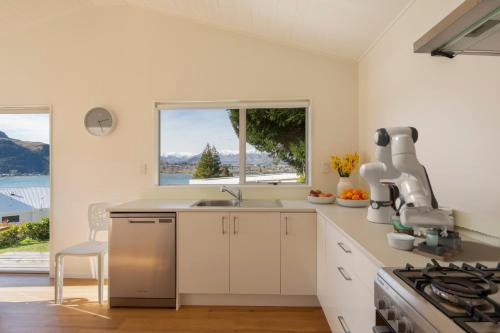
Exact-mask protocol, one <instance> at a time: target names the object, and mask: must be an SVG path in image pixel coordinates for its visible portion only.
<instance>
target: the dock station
mask: <svg viewBox="0 0 500 333" xmlns="http://www.w3.org/2000/svg"><path fill="white" fill-rule="evenodd" d="M436 231H438V247H437V248H436V247H432V246H428V245H426V240H423V241H421V242H418V243H417V247H416V248H414V249H413V248H412V254H415V255H418V256H421V257H425V258H429V259H433V260H436V261H440V262H444V261H447V260H448V259H450V258H452V257H454V256H456V255H458V254H460V253H461V252H464V251H465V249H464V246H462V236H460V235H459V234H460V232H459V231H454V230H453V231H450V230H447V231H446V232H447V237H442V235H441V234H440V233H442V231H443V230H441V229H436Z"/></svg>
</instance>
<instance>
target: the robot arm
mask: <svg viewBox="0 0 500 333" xmlns="http://www.w3.org/2000/svg"><path fill="white" fill-rule="evenodd" d="M418 140H419V132H418V130H417V128H416V127H413V126H391V127H382V128H377V129H376V130H375V132H374V135H373V141H374V144H375V145H376V148H375V152H374V157H375V160H377V161H378V162H368V163H362V164H361V166H360V168H359V172H358V173H359V175H360V177H361V178H363V179H364V181H366V182H367V184H368V185H369V190H370V200H369V206H368V209H367V216H366V217H365V219H366V220H367V221H369V222H372V223H376V224H390V225H393V219H392V216H393V215H394V216H397V212H398V213H399V217H400V220H401V223H402V225H403V226H404V227H412V228H413V230H414V232H415V233H416V234H417V235H418V237H423V236H424V232H423V230H421V228H422V229H423V228H424V229H432V228H441V230H443V231H442V233H440V234H441V235H442V237H447V232H446V231H447V229H450V228H451V227H452V226H453V225H454V226H455V221H454V222H453V220H452V219H451V217H452V216H450V214H449V213H448V212H447V211H446V210H444V209H441V208H439V203H438V200H437V198H436V196H435V194H434V191H433V187H432V184H431V181H430V178H429V173H428V172H427V169H426V167H425V165H423V164H422V163H420V161H419V159H418V158H417V157H418V156H417V151H416V147H415V144H416V143H417V142H418ZM403 174H407V175H409V176H411V177H413V178H415V179H406V180H403V182H401V184H400V194H399V195H398V196H397V197H396V198H395V200H394V206H395V209H396V210H395V209H394V208H393V207H392V206H391V204H393V200H390V189H389V187H388V186H386V185H385V184H383V183H381V182H380V181H381V180H389V181H390V180H396V179H399V178H400V177H402V175H403ZM396 211H397V212H396ZM419 228H420V229H419Z"/></svg>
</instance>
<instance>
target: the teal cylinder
mask: <svg viewBox="0 0 500 333" xmlns="http://www.w3.org/2000/svg"><path fill="white" fill-rule="evenodd" d="M425 231H426V235H425V237H426V240H425V241H426V245H428V246H432V247H436V248H437V247H438V231H436V230H432V228H426V230H425Z"/></svg>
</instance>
